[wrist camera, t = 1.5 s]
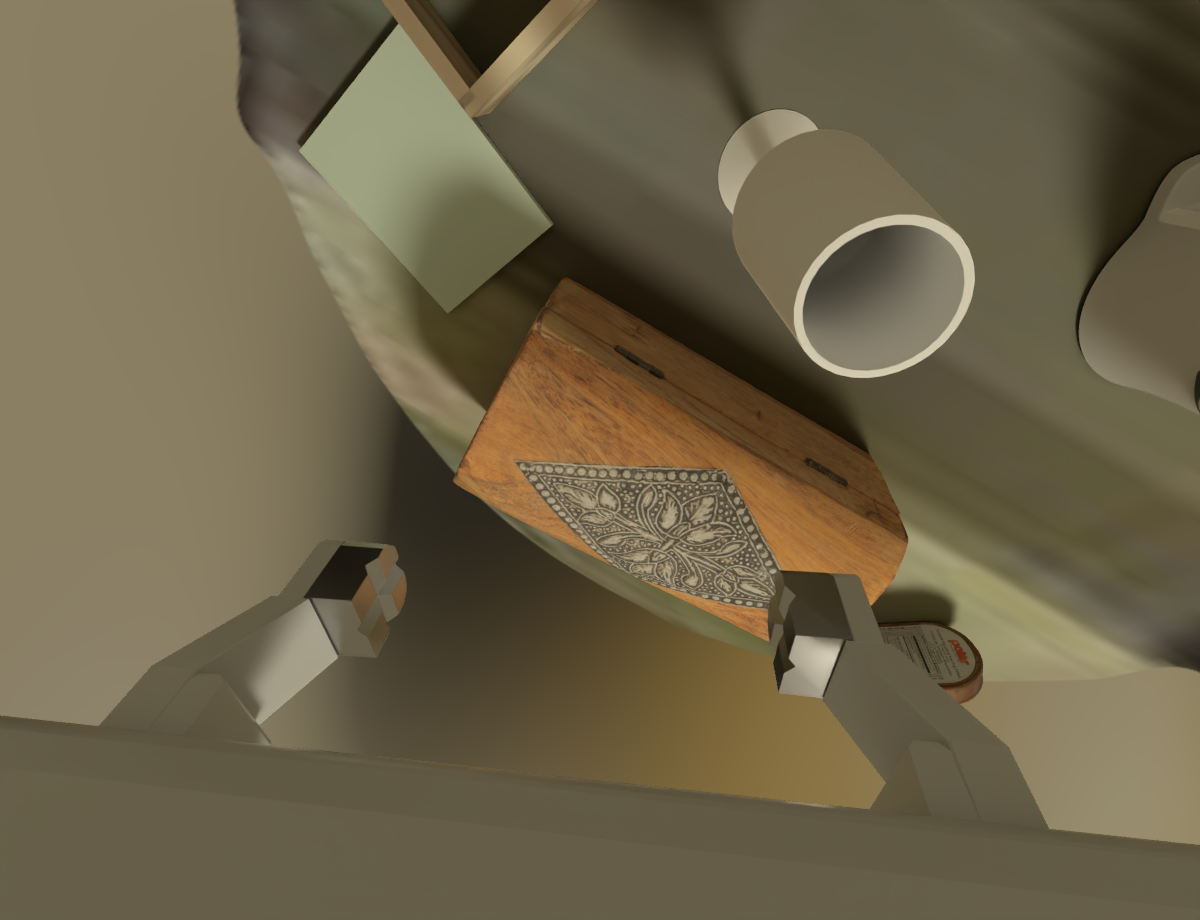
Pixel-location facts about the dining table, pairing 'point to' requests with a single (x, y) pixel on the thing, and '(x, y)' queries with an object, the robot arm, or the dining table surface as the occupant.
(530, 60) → the birch u-shaped frame
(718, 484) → the wooden box
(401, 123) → the felt mat
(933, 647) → the tin
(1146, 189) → the dining table surface
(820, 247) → the champagne flute
